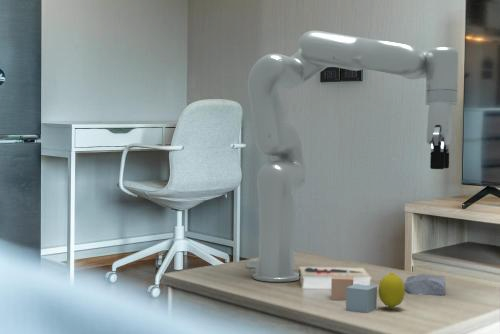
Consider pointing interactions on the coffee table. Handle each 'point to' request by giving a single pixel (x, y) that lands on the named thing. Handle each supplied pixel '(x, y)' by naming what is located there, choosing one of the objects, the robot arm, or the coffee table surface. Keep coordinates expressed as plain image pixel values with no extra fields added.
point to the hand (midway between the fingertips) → (439, 168)
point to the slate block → (361, 298)
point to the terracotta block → (340, 286)
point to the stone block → (425, 284)
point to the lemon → (391, 290)
